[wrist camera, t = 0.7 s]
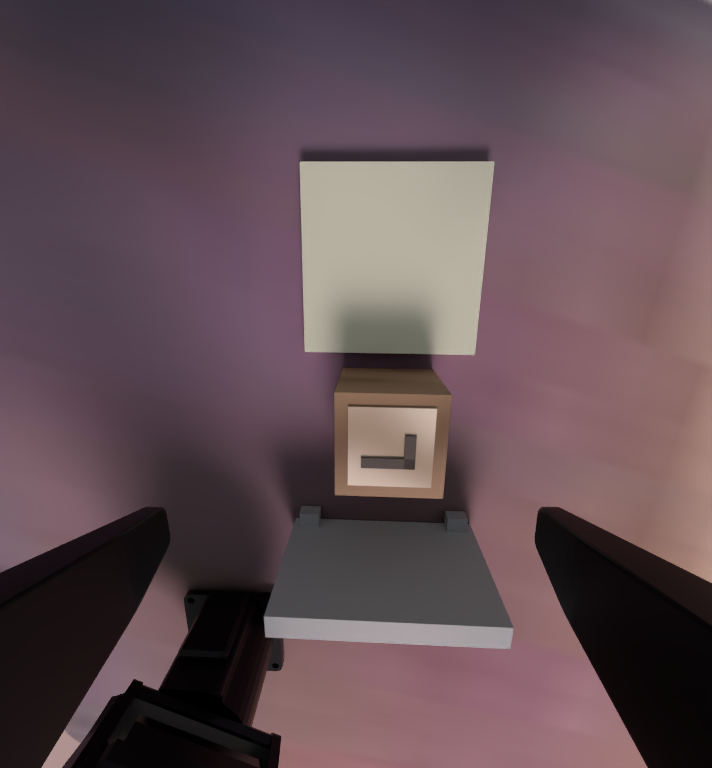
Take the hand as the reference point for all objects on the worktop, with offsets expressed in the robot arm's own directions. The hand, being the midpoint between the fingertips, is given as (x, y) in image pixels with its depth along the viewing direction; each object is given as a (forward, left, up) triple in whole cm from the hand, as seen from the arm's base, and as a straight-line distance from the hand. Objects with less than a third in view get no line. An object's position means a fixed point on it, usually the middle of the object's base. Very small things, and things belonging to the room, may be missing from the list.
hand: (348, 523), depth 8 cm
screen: (-9, -2, -12) cm, 15 cm away
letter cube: (-1, -1, -12) cm, 12 cm away
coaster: (+7, -1, -12) cm, 14 cm away
